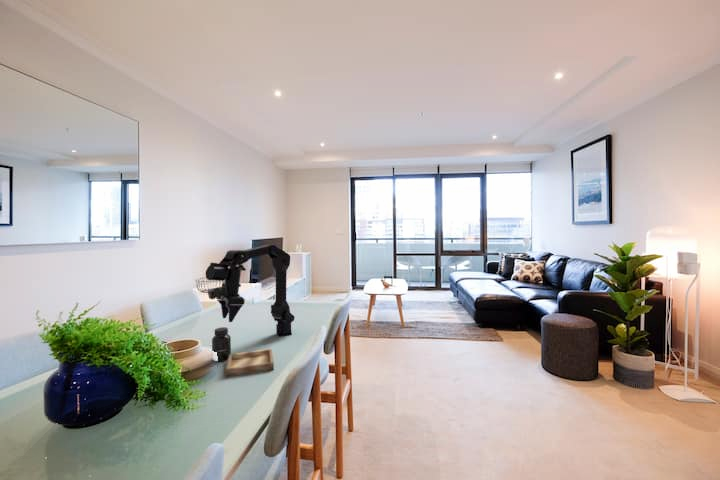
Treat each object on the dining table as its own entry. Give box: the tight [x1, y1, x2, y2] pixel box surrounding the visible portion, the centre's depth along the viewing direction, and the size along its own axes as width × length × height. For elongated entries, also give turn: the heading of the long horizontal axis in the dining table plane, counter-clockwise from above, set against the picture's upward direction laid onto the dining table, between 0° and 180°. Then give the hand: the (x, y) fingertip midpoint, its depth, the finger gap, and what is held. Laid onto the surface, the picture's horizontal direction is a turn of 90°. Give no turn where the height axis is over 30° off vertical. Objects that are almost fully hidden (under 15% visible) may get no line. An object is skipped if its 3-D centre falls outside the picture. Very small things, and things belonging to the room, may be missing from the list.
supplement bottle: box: [211, 326, 232, 363], centre depth 124 cm, size 7×7×12 cm
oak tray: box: [225, 348, 275, 378], centre depth 118 cm, size 16×14×2 cm
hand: (227, 320), depth 125 cm, fingers open, 9 cm apart
